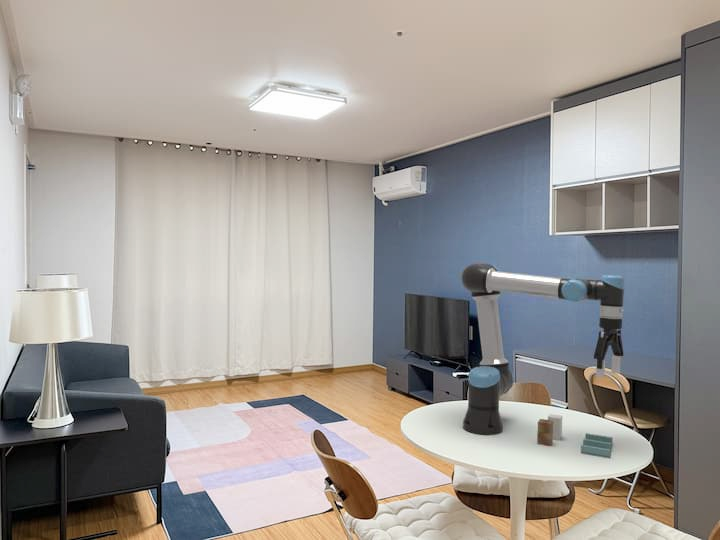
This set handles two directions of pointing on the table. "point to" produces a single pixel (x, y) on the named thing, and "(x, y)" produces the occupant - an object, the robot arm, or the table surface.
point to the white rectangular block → (556, 426)
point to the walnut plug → (545, 432)
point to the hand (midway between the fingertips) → (607, 375)
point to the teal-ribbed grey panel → (597, 445)
